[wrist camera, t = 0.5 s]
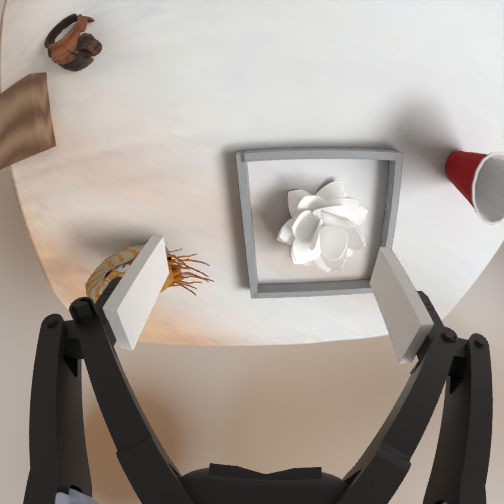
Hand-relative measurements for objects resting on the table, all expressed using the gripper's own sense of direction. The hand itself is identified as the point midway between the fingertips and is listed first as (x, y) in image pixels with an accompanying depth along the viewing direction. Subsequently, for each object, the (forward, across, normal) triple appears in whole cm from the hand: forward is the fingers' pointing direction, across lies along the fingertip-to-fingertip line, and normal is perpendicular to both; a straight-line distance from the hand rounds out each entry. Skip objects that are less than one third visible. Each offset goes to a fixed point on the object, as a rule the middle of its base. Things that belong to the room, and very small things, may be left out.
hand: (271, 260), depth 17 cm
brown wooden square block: (+28, -47, +11) cm, 56 cm away
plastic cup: (+28, +32, +3) cm, 42 cm away
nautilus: (+28, -19, -17) cm, 38 cm away
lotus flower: (+28, +8, -10) cm, 31 cm away
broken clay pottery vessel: (+29, -30, +20) cm, 46 cm away
